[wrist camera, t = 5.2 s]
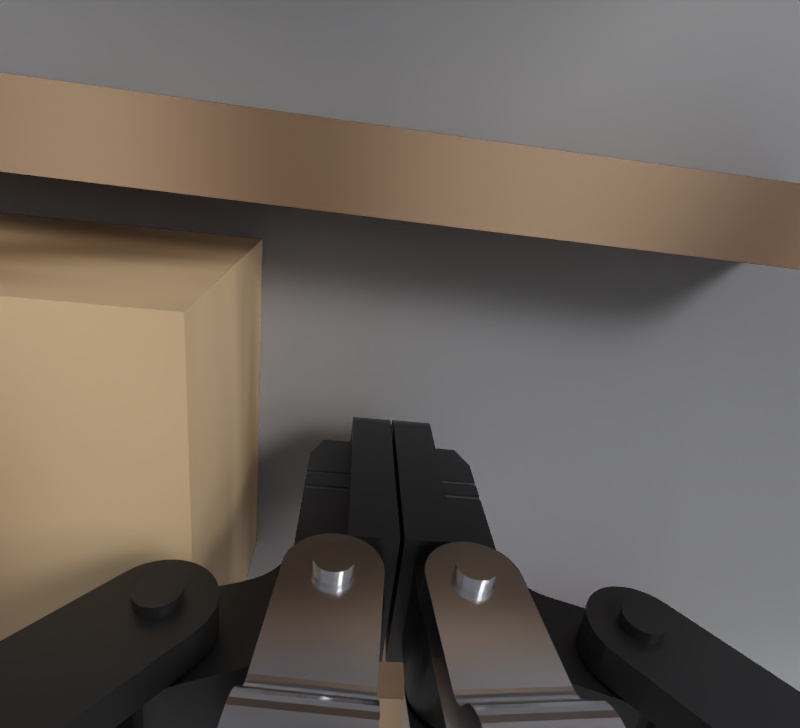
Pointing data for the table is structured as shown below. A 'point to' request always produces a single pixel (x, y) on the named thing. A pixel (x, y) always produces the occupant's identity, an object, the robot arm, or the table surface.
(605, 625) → the robot arm
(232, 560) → the block
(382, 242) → the table surface
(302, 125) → the channel
